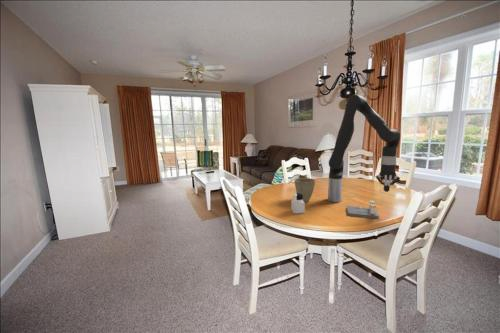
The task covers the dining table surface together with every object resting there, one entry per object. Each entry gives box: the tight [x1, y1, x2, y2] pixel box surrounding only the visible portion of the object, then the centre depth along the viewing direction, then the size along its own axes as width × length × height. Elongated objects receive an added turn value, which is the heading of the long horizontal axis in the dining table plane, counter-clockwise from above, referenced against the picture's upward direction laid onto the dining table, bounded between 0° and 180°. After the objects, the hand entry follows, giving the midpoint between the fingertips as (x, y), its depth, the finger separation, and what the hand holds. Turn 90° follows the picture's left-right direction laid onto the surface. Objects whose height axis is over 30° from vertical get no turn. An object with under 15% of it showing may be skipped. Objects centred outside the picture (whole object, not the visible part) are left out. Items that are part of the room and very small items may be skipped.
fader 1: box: [368, 200, 376, 209], centre depth 135 cm, size 2×3×5 cm
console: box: [346, 205, 380, 220], centre depth 135 cm, size 16×13×2 cm
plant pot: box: [294, 177, 316, 203], centre depth 160 cm, size 15×15×16 cm
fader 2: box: [369, 203, 377, 214], centre depth 129 cm, size 2×3×5 cm
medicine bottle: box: [290, 192, 306, 214], centre depth 139 cm, size 7×7×12 cm
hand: (386, 191), depth 131 cm, fingers closed
